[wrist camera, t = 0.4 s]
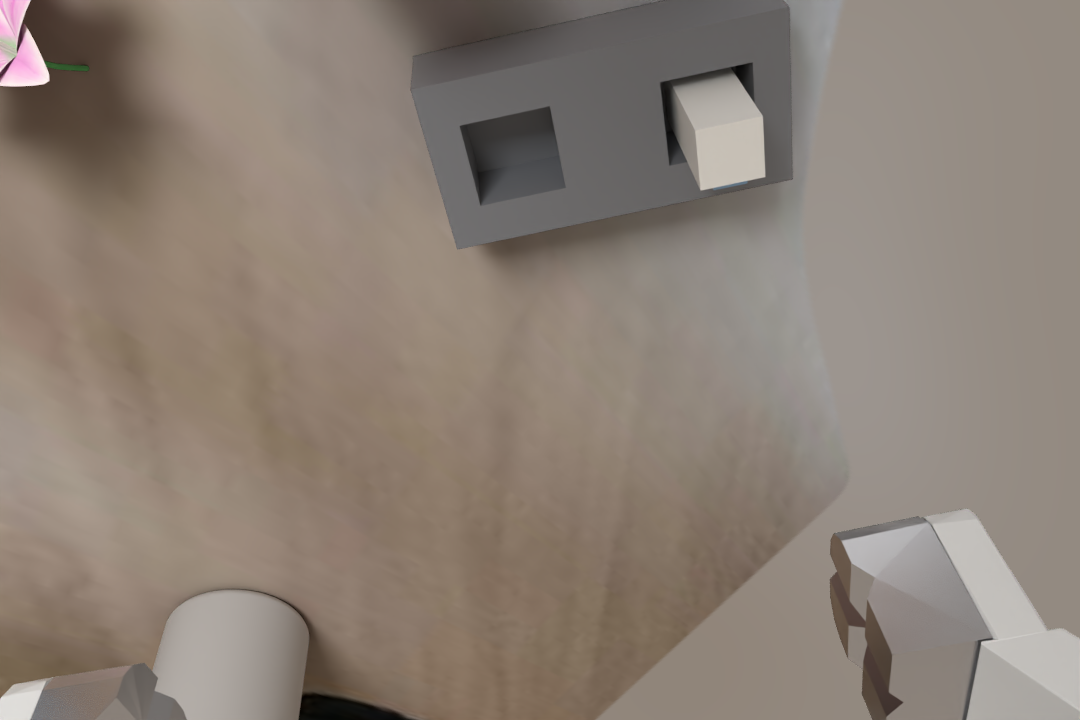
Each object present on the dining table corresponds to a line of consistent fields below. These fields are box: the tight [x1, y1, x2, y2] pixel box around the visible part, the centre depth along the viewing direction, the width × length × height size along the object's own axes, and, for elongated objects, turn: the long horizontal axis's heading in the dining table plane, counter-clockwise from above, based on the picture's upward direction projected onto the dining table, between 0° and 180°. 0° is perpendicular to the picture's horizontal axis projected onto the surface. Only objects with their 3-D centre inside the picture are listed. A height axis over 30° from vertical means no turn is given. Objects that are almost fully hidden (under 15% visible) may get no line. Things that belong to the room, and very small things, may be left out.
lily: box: [0, 0, 89, 86], centre depth 46 cm, size 12×12×10 cm
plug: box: [664, 67, 765, 190], centre depth 50 cm, size 4×3×9 cm
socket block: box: [411, 0, 793, 249], centre depth 52 cm, size 10×20×5 cm, turn 101°
